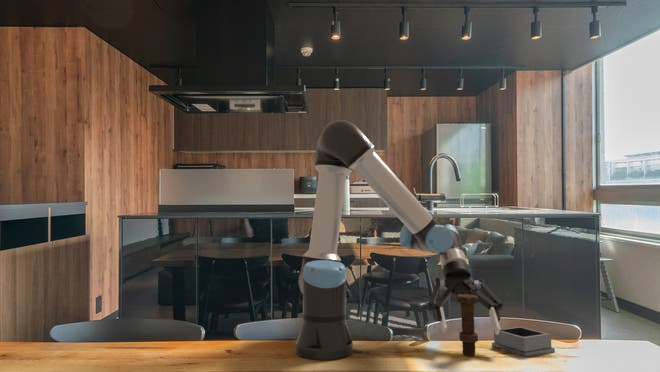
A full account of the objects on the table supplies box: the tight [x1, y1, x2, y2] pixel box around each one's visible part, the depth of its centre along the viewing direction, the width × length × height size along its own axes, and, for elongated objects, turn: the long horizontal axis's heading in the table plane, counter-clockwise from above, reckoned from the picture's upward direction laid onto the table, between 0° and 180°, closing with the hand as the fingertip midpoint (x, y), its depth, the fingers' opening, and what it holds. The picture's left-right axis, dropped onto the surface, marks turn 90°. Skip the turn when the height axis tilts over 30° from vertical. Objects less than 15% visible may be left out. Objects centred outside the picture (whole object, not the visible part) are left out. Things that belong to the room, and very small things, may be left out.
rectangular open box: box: [491, 326, 556, 358], centre depth 113 cm, size 11×11×4 cm
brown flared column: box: [456, 294, 479, 357], centre depth 108 cm, size 6×5×15 cm
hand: (471, 331), depth 108 cm, fingers open, 13 cm apart
